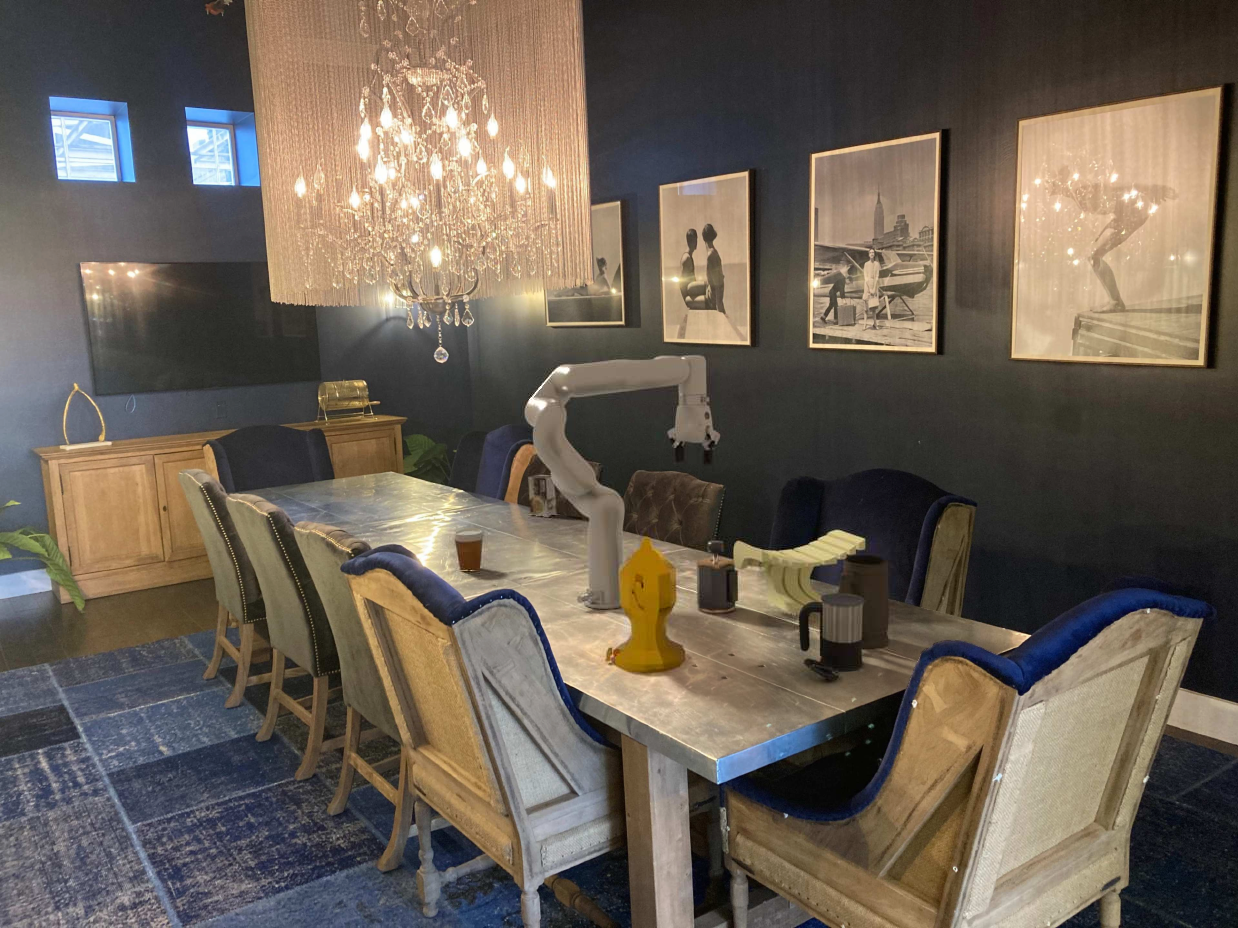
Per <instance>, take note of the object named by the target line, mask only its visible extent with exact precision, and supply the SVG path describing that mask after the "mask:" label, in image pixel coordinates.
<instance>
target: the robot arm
mask: <svg viewBox="0 0 1238 928" xmlns="http://www.w3.org/2000/svg"><path fill="white" fill-rule="evenodd" d="M672 386H678V405H677V406H676V407H677V408H676V412H675V414H676V415H675V423H674V424H675V425H674V427H673V428H671V429H669V430H668V431H667V435H668V438H669V441H670V443H671V444H672V447H673V448H674V452H675V453H674V454H675V455H674V458H675V463H680V462H684V461H685V446H683V445H684V444H685V443H697V444H698V443H699V444H700V443H701V445H702V446H703V448H704V449H703V450H702V451H703V457H702V458H703V459H702V460H703V465H704V466H707V465H712V464H713V461H714V460H713V455H714V454H713V450H714V449H715V447H716V446H717V445H718V441H719V440H720V437H721V434H720V433H719V432H718V431H716V430H714V427H713V418H712V413H711V408H710V406H709V405H707V403H709V402H710V397H709V396H707V361H706V358H705V356H703V355H694V354H693V355H692V354H691V355H682V356H677V355H658V356H656V357H654V358H653V359H613V360H610V359H609V360H604V361H596V362H587V363H579V364H577V363H576V364H572V363H571V364H561V365H559V366H558V367H556V368H555V369H554V370H553V371H552V372H551V374H550V375H549V376H548V377H547V379H545V380H544V382H543V383H542V384H541V386H539V388H538V389H537V390H536V391H535V392H534V394H533V395H532V397H530V398H529V400H528V401H527V403H526V405H525V408H524V419H525V420H526V422H527V423H528V424H529V425H530V426H531V427H533V431H532V440H533V441H532V442H533V448H534V450H535V453H536V455H537V456H538V457H539V459H540V460H541V462H542V463H543V464H544V465H545V466H546V467H547V469H548V470H549V471H550V475H551V478H552V481H553V483H554V484H555V488H557V490H558V491H559V492H560V493H561V494H562V495H563V496H564V498H566V499H567V501H568V502H570V503H571V504H572V505H573V507H574V508H575V509H576V510H577V511H578V512H579V513H580V514H581V515H583V516H585V517H587V518H588V519H589V520H588V527H587V537H586V538H587V540H586V542H587V565H588V566H587V567H588V569H587V570H588V588H586V592H585V593H584V594H581V595H578V596H577V598H576V600H577V602H578V603H579V604H581V603H583V605H585V606H586V607H588V608H591V609H600V610H611V609H619V608H622V606H621V604H620V601H619V570H618V567H619V566H620V565H621V564H622V563H623V562H624V545H623V544H624V542H623V541H624V538H623V534H624V533H623V531H624V527H623V526H624V521H625V520H624V519H625V512H626V511H625V508H626V507H625V503H624V500H623V498H622V497H621V495H620V494H619V493H618V492H617V491H616V490H614V489H612V488H611V487H610V488H609V487H607V486H604V485H602V484H601V483H600V482H599V481H598V479H597V478H596V472H595V471H594V468H593V467H592V466H591V464H589V463H588V461H587V460H585V459H584V458H583V457H582V456H581V454H580V453H579V452H578V451H577V450H576V449H575V448H574V447H573V445H572V444H571V443H570V442H569V440H568V439H567V436H566V435H565V427H566V422H567V410H566V408H565V405H567V403H568V401H570V400H571V397H572V398H583V397H591V396H597V395H604V394H613V393H621V392H623V393H624V392H632V391H638V390H646V389H655V388H664V387H672Z"/></svg>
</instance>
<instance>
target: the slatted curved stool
mask: <svg viewBox="0 0 1238 928" xmlns="http://www.w3.org/2000/svg"><path fill="white" fill-rule="evenodd" d="M857 550H858V551H863V550H866V538H863V537H862V536H857V535H855V534H852V533H849V532H845V531H843V530H840V529H834V530H831V531H829V532H827V533H826V535H823V536H821V537H818V538H817V540H814V541H811V542H809V543H808V544H806V545H803V546H802V545H801V546H800V547H799V546H798V547H795V548H793V549H792V548H791V549H784V550H778V551H777V550H768V549H767V550H766V549H761V548H759V547H754V546H752V545H751V544H750V545H749V544H748V543H745V542H743V541H740V540H737V541H735V543H734V546H733V560H734V565H735V568H737V569H739V570H744V569H747V568H748V567H749V566H750V567H751V568H752V567H753V568H754V567H759V566H760V567H761V571H762V572H763V576H764V580H765V587H766V589H765V590H766V595H765V596H766V602H767V601H768V602H770V603H772V604H774V605H776V606H777V607H779V608H781V609H782V610H785V611H787V612H789V613H790V614H792V615H794V614H799V613H800V611H801V609H802V608H803V607H804V606H805V605H806V604H808V603H810V602H822V600H821V597H822V595H820V594H818V592H816V591H815V590H814V589H813V587H812V586H811V584H810V583H811V582H810V580H811V579H810V578H811V574H812V572H813V570H814V567H820V566H821V565H822V566H827V565H834V564H835V565H836V564H838V560H844V559H845V558H847V556H848V555H849V556H854V555H857V553H856V552H857ZM768 602H767V603H768ZM777 607H776V608H777ZM782 610H781V611H782ZM790 614H789V615H790ZM792 615H791V616H792ZM794 616H795V615H794Z"/></svg>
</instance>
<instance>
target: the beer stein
mask: <svg viewBox="0 0 1238 928" xmlns="http://www.w3.org/2000/svg"><path fill="white" fill-rule="evenodd" d="M887 560H888V559H886V558H885V557H882V556H879V555H873V554H853V555H849V556H846V558H845V559H843V565H842V568H843V572H841V573H840V574H839V585H838V590H837V591H838V592H837V593H845V594H853V595H857V596H860V597H862V598H863V599H864V600H865V602H864V604H863V610H862V649H879V648H883V646H884V647H885V646H887V645H889V643H890V639H889V635H888V631H889V625H890V624H889V623H890V622H889V621H890V615H889V614H890V613H889V610H890V604H889V603H890V602H889V600H890V591H889V590H890V589H889V584H888V578H889V577H888V576H889V575H888V571H889V565H888V561H887Z"/></svg>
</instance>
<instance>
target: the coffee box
mask: <svg viewBox="0 0 1238 928" xmlns="http://www.w3.org/2000/svg"><path fill="white" fill-rule="evenodd" d="M527 478H528V494H529V511H530V515H536V516H535V517H538V516H543V517H542V518H550V517H549V516H551V515H555V516H557V515H558V514H557V513H558V512H557V497H556V495H557V493H556V490H557V489H556V486H555V484H554V483H553V481H552V478H551V474H548V475H547V474H534V475H531V476H528V477H527ZM551 517H552V516H551Z"/></svg>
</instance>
